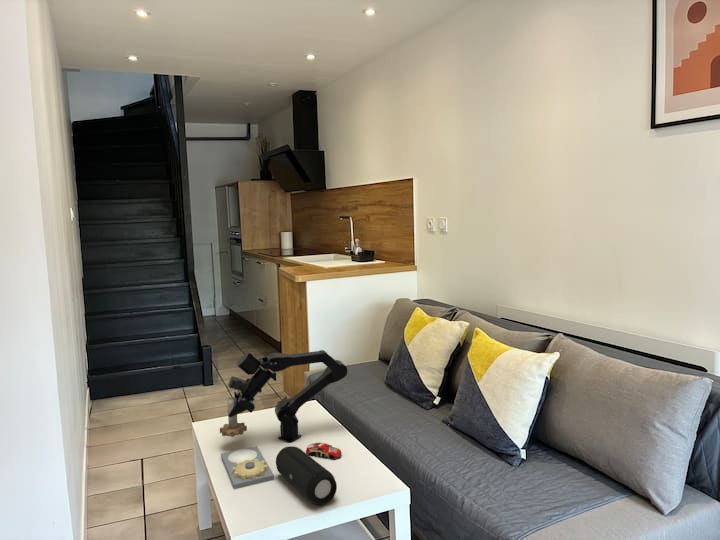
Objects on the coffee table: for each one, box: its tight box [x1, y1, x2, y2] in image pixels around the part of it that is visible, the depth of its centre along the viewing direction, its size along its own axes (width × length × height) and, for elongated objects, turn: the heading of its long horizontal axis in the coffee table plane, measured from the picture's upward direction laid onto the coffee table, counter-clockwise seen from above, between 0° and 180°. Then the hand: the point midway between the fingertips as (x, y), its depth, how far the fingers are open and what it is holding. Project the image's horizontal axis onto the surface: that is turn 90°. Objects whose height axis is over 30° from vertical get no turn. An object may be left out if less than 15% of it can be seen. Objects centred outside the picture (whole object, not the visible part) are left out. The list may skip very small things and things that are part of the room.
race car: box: [305, 442, 342, 460], centre depth 192 cm, size 13×5×4 cm, turn 67°
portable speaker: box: [275, 445, 338, 505], centre depth 170 cm, size 26×10×10 cm, turn 34°
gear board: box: [220, 445, 275, 490], centre depth 184 cm, size 24×13×4 cm, turn 24°
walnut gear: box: [219, 396, 248, 438], centre depth 199 cm, size 10×10×12 cm
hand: (228, 414), depth 199 cm, fingers closed on walnut gear, 3 cm apart
